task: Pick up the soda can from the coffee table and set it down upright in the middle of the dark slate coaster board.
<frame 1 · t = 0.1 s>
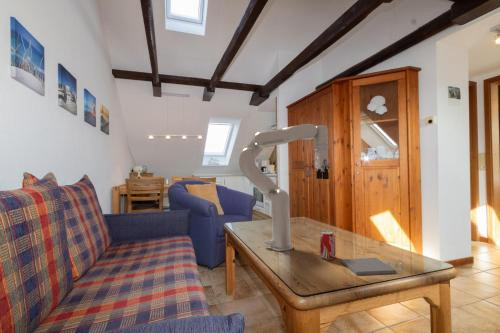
hand: (322, 179, 134), 37 cm above the table, tool pointing down, fingers open, 9 cm apart
slate board: (367, 267, 103), on the table
soda can: (327, 258, 115), on the table
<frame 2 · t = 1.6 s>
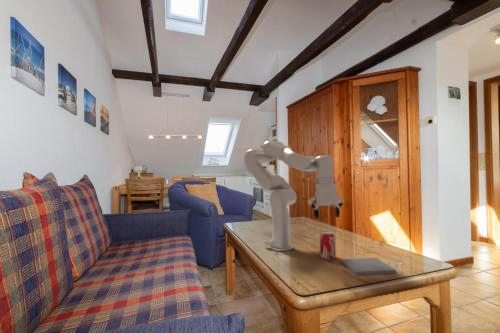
hand: (326, 217, 115), 19 cm above the table, tool pointing down, fingers open, 9 cm apart
nothing on the table moved.
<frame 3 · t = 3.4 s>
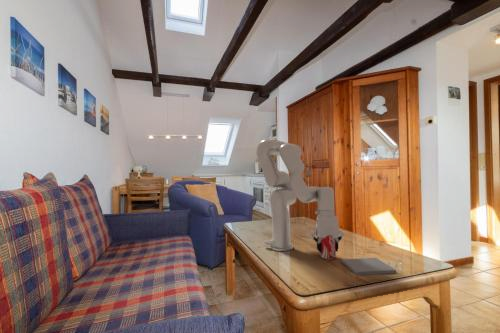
hand: (327, 250, 115), 3 cm above the table, tool pointing down, fingers closed on soda can, 7 cm apart
soda can: (327, 258, 115), on the table, touching gripper
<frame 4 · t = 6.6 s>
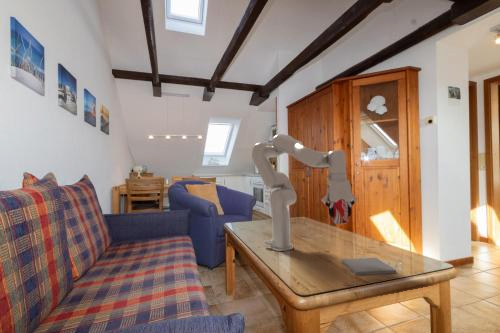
hand: (340, 215, 111), 20 cm above the table, tool pointing down, fingers closed on soda can, 7 cm apart
soda can: (340, 223, 111), point 17 cm above the table, touching gripper
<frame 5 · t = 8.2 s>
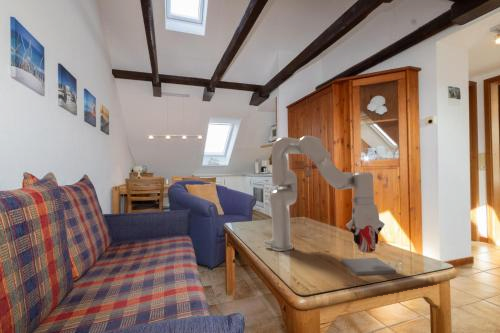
hand: (366, 243, 103), 10 cm above the table, tool pointing down, fingers closed on soda can, 7 cm apart
soda can: (366, 251, 103), point 7 cm above the table, touching gripper
when the fingers open (6 cm above the table, at t = 9.7 s): soda can drops 1 cm, resting on slate board.
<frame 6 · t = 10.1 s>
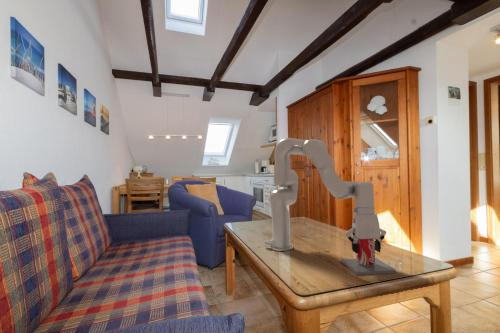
hand: (366, 251, 103), 7 cm above the table, tool pointing down, fingers open, 9 cm apart
soda can: (365, 264, 103), point 1 cm above the table, touching slate board
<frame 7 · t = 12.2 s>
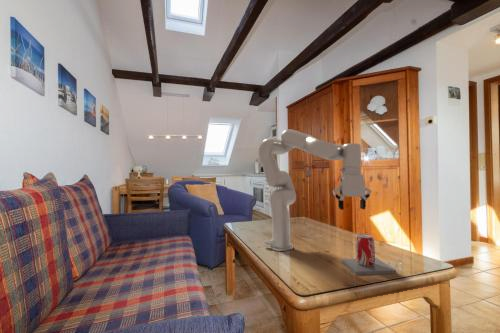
hand: (352, 209, 109), 24 cm above the table, tool pointing down, fingers open, 9 cm apart
nothing on the table moved.
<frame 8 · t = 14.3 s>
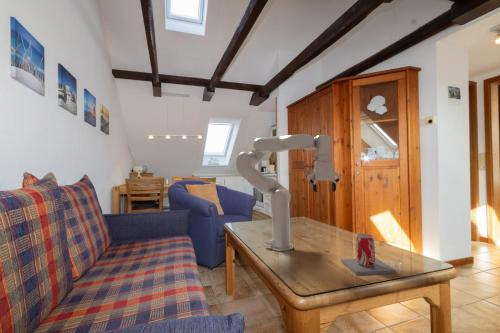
hand: (324, 191, 126), 30 cm above the table, tool pointing down, fingers open, 9 cm apart
nothing on the table moved.
at the end: soda can inside the target area on the slate board (0.4 cm from its centre), point 1.0 cm above the slate board's base; soda can tilted 0°; the gripper is holding nothing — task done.
